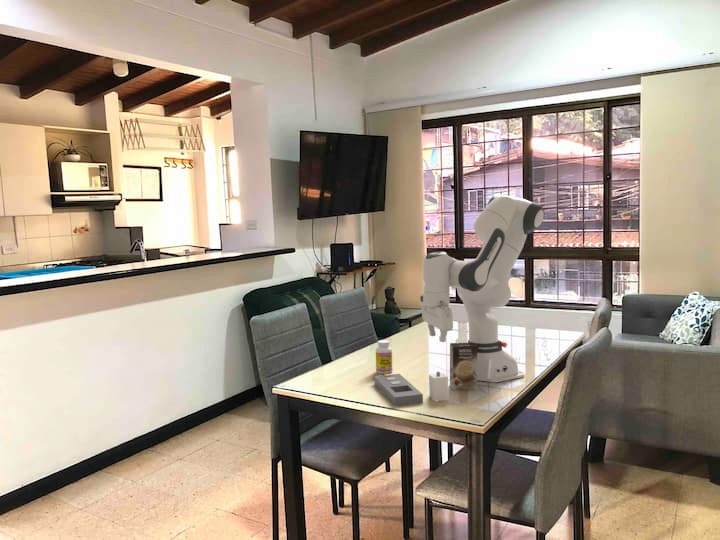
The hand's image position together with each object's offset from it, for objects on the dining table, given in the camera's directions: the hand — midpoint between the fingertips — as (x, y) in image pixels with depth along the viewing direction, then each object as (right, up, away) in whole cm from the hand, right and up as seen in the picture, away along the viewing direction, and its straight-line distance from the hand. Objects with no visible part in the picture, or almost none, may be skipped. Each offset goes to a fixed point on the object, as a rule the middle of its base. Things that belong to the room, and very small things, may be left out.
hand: (437, 338), depth 198 cm
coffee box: (+11, -20, +13) cm, 26 cm away
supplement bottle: (-17, -18, +36) cm, 44 cm away
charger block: (+1, -21, +2) cm, 21 cm away
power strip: (-13, -21, +9) cm, 26 cm away
